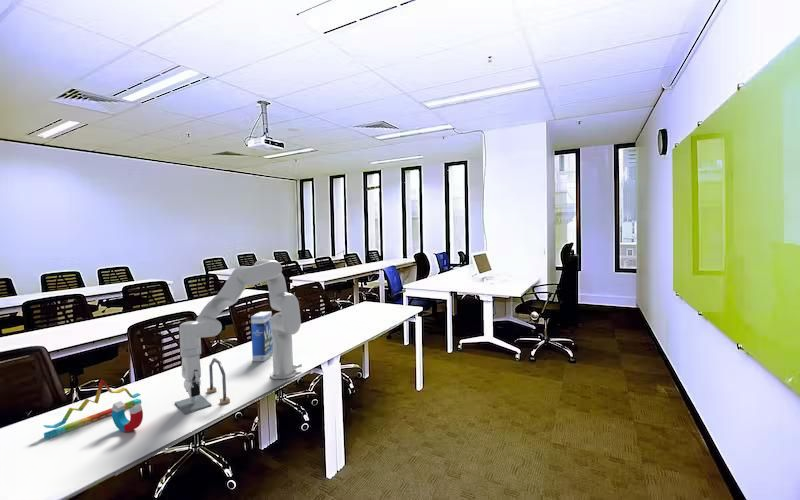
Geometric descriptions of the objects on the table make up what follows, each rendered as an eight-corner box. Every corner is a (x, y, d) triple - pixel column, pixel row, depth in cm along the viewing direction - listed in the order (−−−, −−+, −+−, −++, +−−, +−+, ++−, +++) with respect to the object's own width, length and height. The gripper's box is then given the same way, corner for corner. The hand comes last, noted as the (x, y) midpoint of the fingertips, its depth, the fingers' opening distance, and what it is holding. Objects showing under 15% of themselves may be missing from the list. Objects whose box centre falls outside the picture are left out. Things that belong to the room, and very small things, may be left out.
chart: (48, 440, 130) (45, 398, 129) (44, 438, 131) (41, 396, 130) (141, 404, 156) (139, 369, 156) (137, 402, 158) (135, 368, 157)
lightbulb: (184, 406, 150) (182, 379, 150) (185, 400, 156) (183, 374, 155) (201, 402, 153) (200, 376, 153) (202, 396, 159) (200, 371, 158)
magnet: (112, 430, 135) (110, 403, 135) (119, 426, 138) (118, 400, 137) (136, 434, 132) (135, 407, 131) (144, 430, 134) (142, 403, 134)
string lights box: (265, 361, 206) (263, 316, 205) (251, 361, 207) (250, 316, 206) (273, 353, 220) (272, 311, 219) (261, 354, 220) (259, 311, 219)
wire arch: (214, 389, 169) (212, 354, 169) (229, 402, 156) (228, 363, 155) (207, 391, 167) (205, 355, 167) (222, 404, 154) (220, 365, 153)
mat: (200, 395, 163) (200, 394, 163) (211, 405, 153) (211, 404, 153) (174, 403, 156) (174, 402, 156) (184, 414, 146) (184, 412, 146)
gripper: (175, 349, 157) (177, 390, 158) (187, 358, 145) (189, 402, 146) (194, 345, 162) (196, 385, 163) (207, 353, 150) (209, 396, 151)
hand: (193, 392), depth 154 cm, fingers closed on lightbulb, 6 cm apart
